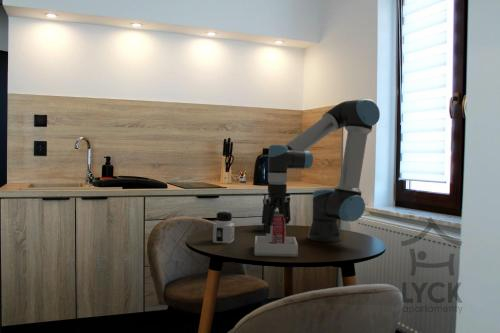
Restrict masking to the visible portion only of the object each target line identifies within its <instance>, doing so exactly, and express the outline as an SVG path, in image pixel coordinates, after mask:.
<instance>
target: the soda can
mask: <svg viewBox="0 0 500 333" xmlns="http://www.w3.org/2000/svg"><path fill="white" fill-rule="evenodd" d="M268 222H269V221H268ZM271 225H272V226H273V235H272V242H268V243H269V244H283V243H284V241H285V218H284V215H283V214H274V216H273V220H272V223H271Z"/></svg>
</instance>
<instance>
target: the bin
mask: <svg viewBox="0 0 500 333" xmlns="http://www.w3.org/2000/svg"><path fill="white" fill-rule="evenodd" d="M298 255H299V244H298V241H297V239H296V237H295V236H286V240H285V241H284V243H283V244H269V243H268V241H266V235H255V238H254V256H256V257H257V256H258V257H259V256H262V257H291V258H293V257H295V258H298V257H299V256H298Z"/></svg>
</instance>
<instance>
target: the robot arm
mask: <svg viewBox="0 0 500 333" xmlns="http://www.w3.org/2000/svg"><path fill="white" fill-rule="evenodd" d="M380 114H381V113H380V108H379V106H378V105H377V103H376V102H375V101H374V100H372V99H370V98H366V99H365V98H360V99H356V100H355V99H353V100H345V101H342V102H340V103H338V104H337V105H335V106H333V107H332V108H331V109H329V110H328V111H326V112H325V113H324V114H323V115H322V116H321V118H320V119H319V120H318V121H316V122H314V123H313V124H312V125H311V126H310V127H308V128H306V129H305V130H304V131H303V132H301V133H300V134H298V135H297V136H296V137H294V138H293V139H292V140H290V141H289V142H288V143H286V144H270V145H269V147H268V159H267V160H268V162H267V163H268V165H267V170H268V172H267V175H268V176H267V182H268V184H267V193H268V197H267V198H263V199H262V204H263V206H262V211H263V212H262V214H261V215H262V216H261V224H263V226H264V225H266V231H265V236H266V241H268V242H272V235H273V226H272V225H271V223H272V220H273V216H274V213H275V210H276V211H279V214H283V215H284V218H285V240H286V237H287V234H286V233H287V224H290V222H291V220H292V219H291V205H290V204H291V197H288V196H286V194H287V188H288V186H287V183H288V169H293V170H294V169H297V170H298V169H300V170H301V169H302V170H304V169H310V168H311V167H312V166H313V163H314V156H313V154H312V152H311V151H309V149H310V148H312V147H313V146H314V145H316V144H317V143H318V142H320V141H321V140H322V139H324V138H325V137H326V136H328V135H330V133H332V132H333V133H335V132H337V131H338V130H340V129H342V128H345V130H346V132H347V134H346V140H345V141H346V142H345V148H344V154H343V159H342V166H341V171H340V178H339V184H338V185H337V186H336V187H334V189H332V188H331V189H316V190H314V192H313V193H312V221H311V225H310V228H309V230H308V233H307V237H308V239H309V240H310V241H311V240H312V241H316V242H325V243H326V242H329V243H332V242H339V241H341V240H342V234H341V233H342V232H341V230H340V226H339V222H338V220H340V221H343V222H349V223H350V222H351V223H352V222H355V221H358V220H359V219H360V218H361V217H362V216H363V215H364V212H365V209H366V202H365V199H364V198H363V197H362V191H361V189H360V183H361V177H362V170H363V164H364V157H365V153H366V151H365V150H366V145H367V139H368V138H367V137H368V135H369V134H370V133H371V132H372V131H373V127H374V126H375V125H377V123H378V122H379V121H380ZM277 209H278V210H277ZM268 221H269V222H268Z"/></svg>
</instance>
